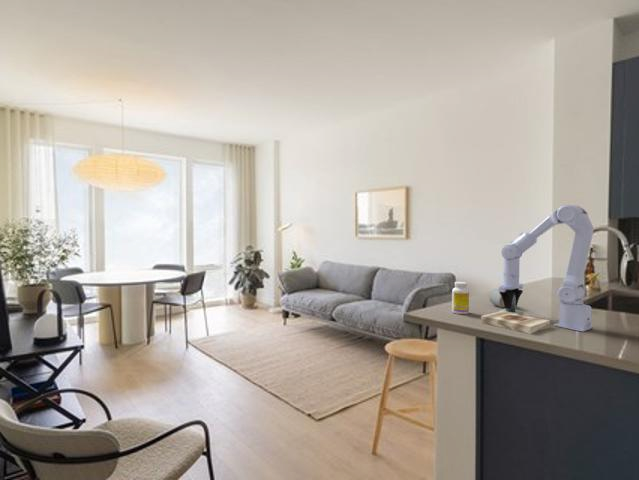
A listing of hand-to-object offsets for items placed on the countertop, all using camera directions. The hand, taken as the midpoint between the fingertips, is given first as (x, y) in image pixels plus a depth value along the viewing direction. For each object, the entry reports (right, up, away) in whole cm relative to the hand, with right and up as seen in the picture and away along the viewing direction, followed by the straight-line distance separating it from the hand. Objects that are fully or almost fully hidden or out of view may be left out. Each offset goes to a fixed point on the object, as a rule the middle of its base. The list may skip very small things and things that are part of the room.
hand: (510, 307), depth 151 cm
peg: (0, -1, 0) cm, 1 cm away
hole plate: (-5, -4, -13) cm, 15 cm away
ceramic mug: (+6, -3, +17) cm, 18 cm away
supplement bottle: (-18, -3, +6) cm, 20 cm away
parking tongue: (0, -3, 0) cm, 3 cm away
